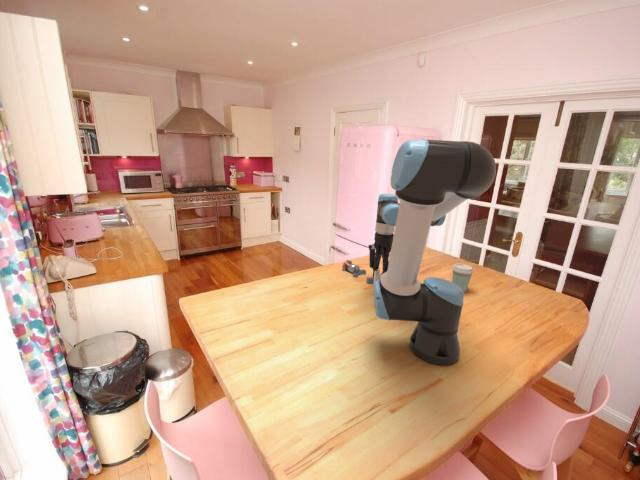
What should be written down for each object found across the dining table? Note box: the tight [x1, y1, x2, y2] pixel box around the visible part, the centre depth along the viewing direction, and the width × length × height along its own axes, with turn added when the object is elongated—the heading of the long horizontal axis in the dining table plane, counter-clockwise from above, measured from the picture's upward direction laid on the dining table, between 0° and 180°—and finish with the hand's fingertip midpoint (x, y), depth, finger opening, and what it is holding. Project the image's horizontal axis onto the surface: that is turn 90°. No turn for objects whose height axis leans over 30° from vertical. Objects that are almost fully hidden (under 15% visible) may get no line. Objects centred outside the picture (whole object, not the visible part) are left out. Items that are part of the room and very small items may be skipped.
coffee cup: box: [451, 263, 474, 294], centre depth 135 cm, size 8×8×12 cm
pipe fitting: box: [341, 259, 381, 285], centre depth 143 cm, size 8×26×6 cm, turn 42°
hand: (378, 285), depth 127 cm, fingers open, 3 cm apart
